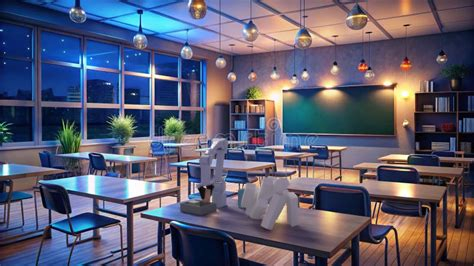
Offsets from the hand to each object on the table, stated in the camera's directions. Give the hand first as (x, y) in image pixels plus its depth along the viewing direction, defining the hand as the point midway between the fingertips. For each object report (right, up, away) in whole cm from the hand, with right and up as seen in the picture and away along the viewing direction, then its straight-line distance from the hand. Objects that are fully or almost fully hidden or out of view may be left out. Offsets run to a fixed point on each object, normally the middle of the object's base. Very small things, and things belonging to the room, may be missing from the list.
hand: (205, 198), depth 221 cm
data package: (+25, -9, +14) cm, 30 cm away
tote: (-5, -9, +6) cm, 12 cm away
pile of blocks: (+35, -10, -21) cm, 42 cm away
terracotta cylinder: (0, -2, 0) cm, 2 cm away
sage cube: (-8, -9, +8) cm, 14 cm away
